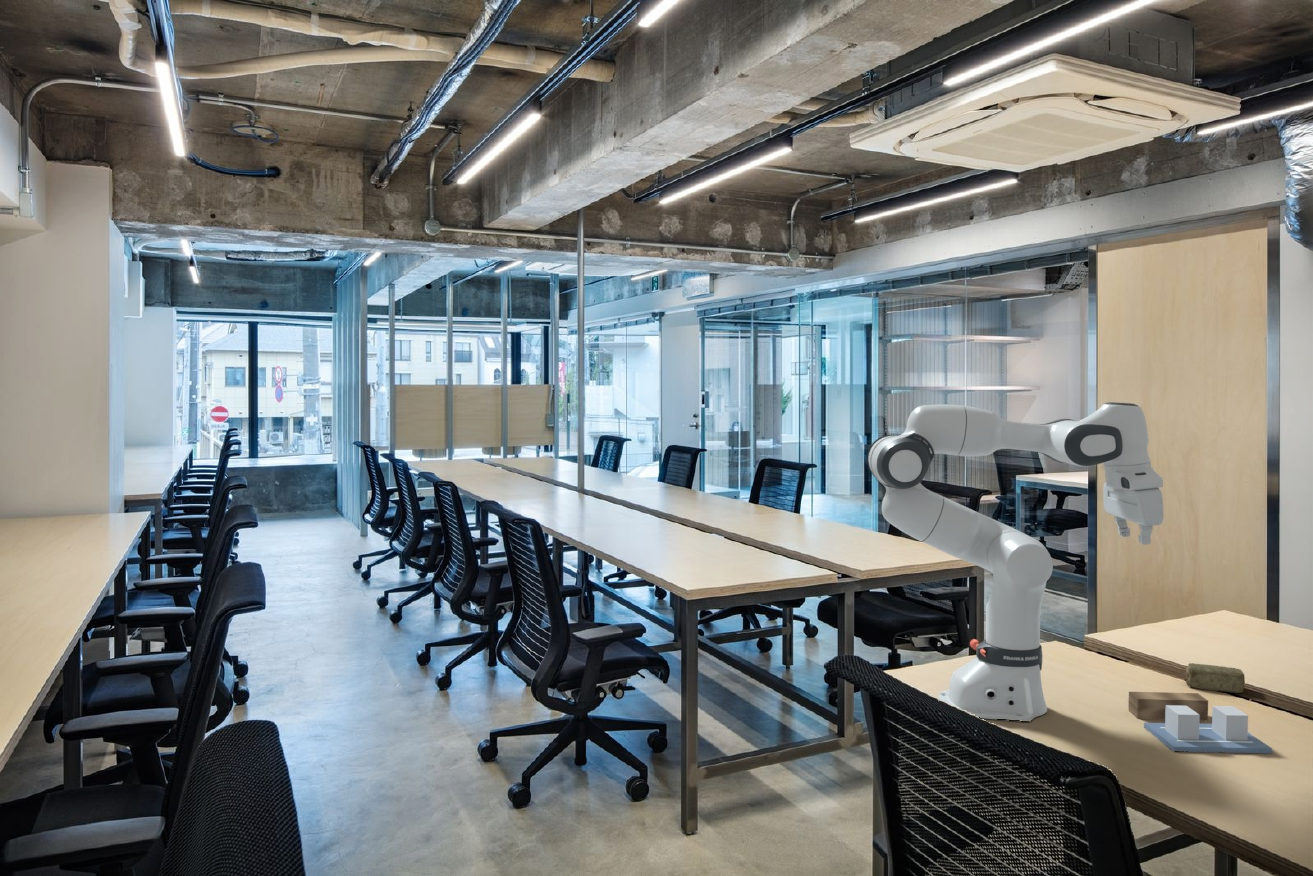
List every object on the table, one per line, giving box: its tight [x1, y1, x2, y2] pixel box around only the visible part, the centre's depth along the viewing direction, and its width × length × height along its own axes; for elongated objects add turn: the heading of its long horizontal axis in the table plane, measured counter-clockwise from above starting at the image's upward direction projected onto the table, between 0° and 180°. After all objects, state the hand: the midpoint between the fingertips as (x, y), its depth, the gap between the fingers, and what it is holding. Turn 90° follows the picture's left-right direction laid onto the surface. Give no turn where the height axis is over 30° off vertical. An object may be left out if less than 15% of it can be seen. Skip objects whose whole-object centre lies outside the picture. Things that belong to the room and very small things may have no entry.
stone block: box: [1184, 662, 1246, 694], centre depth 203 cm, size 6×12×5 cm, turn 64°
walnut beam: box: [1127, 691, 1209, 721], centre depth 187 cm, size 14×4×4 cm, turn 83°
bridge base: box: [1143, 705, 1273, 754], centre depth 174 cm, size 18×12×6 cm, turn 85°
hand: (1134, 540), depth 189 cm, fingers open, 8 cm apart
